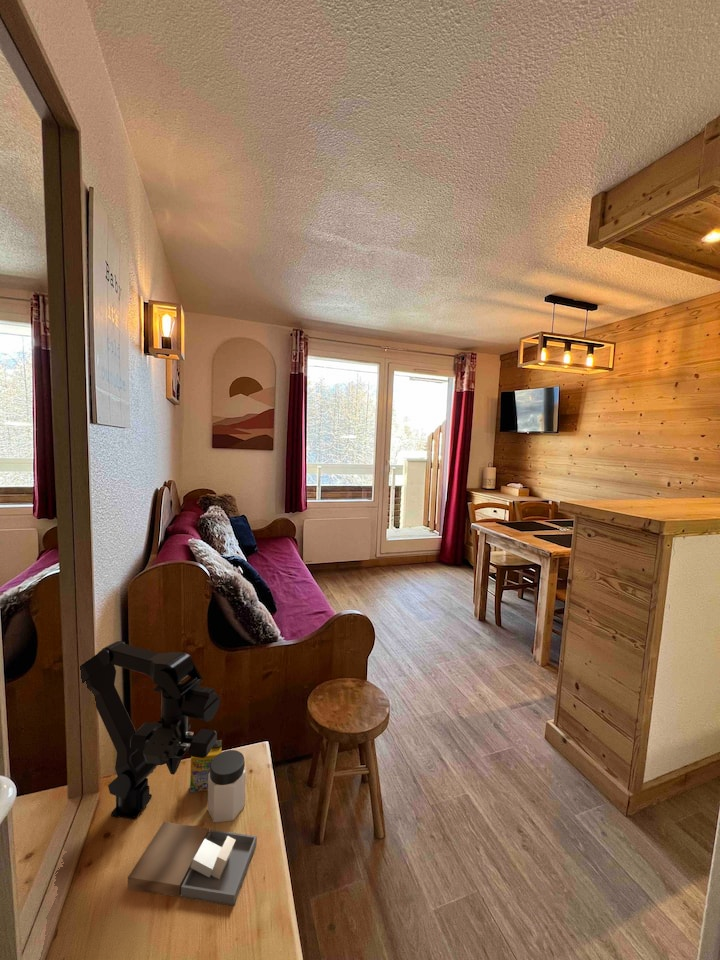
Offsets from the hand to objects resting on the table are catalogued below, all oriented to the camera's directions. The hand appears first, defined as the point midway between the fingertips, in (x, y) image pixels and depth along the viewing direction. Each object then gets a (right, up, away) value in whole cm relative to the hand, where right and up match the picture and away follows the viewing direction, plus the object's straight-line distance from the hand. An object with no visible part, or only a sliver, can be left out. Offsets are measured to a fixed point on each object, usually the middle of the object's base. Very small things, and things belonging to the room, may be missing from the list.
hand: (173, 773), depth 92 cm
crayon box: (+3, -12, +10) cm, 16 cm away
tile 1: (+11, -11, -10) cm, 19 cm away
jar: (+11, -12, +5) cm, 17 cm away
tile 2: (+14, -10, -10) cm, 20 cm away
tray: (+15, -13, -10) cm, 22 cm away
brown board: (+4, -13, -9) cm, 16 cm away
